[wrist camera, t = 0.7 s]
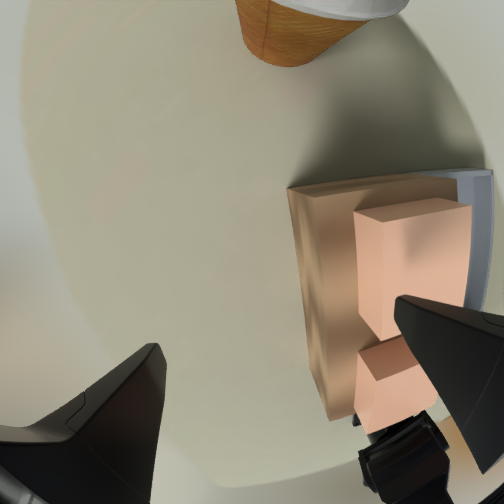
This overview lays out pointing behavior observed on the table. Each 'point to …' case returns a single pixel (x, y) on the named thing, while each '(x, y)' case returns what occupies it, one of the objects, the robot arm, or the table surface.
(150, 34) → the table surface
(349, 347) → the brown wooden block
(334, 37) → the disposable coffee cup
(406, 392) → the tile
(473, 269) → the tray
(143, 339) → the table surface
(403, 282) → the tile
